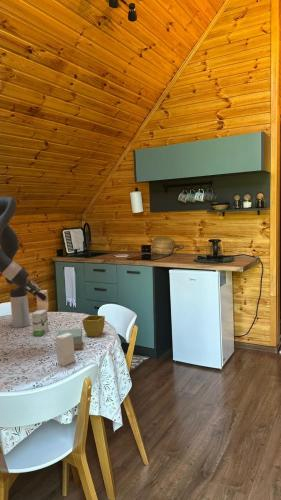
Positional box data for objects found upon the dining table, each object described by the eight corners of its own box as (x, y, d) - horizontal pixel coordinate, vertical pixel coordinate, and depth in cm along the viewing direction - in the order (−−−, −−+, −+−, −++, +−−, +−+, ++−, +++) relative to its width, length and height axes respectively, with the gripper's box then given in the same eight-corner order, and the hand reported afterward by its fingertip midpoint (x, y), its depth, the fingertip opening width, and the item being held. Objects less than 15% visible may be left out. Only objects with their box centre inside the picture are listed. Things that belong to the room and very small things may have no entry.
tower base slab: (58, 344, 182) (58, 337, 181) (82, 342, 184) (81, 335, 183) (58, 353, 171) (57, 345, 171) (83, 350, 173) (82, 342, 173)
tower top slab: (59, 337, 182) (58, 330, 181) (82, 335, 183) (81, 328, 182) (56, 345, 171) (56, 338, 170) (81, 343, 172) (81, 336, 172)
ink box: (41, 336, 194) (40, 313, 192) (33, 336, 195) (31, 313, 193) (49, 330, 202) (47, 309, 201) (40, 330, 203) (38, 308, 202)
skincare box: (68, 359, 162) (66, 331, 161) (75, 361, 160) (73, 333, 158) (57, 364, 158) (54, 336, 156) (64, 366, 155) (61, 338, 153)
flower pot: (90, 331, 197) (89, 314, 196) (106, 332, 194) (105, 315, 193) (82, 337, 189) (81, 319, 188) (98, 338, 186) (97, 320, 185)
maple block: (38, 307, 175) (37, 290, 174) (48, 306, 176) (47, 289, 175) (37, 310, 171) (36, 293, 170) (48, 309, 171) (46, 292, 170)
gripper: (19, 270, 162) (50, 295, 166) (23, 265, 176) (51, 288, 180) (7, 283, 162) (39, 308, 166) (12, 277, 176) (41, 300, 180)
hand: (45, 297), depth 173 cm, fingers closed on maple block, 4 cm apart
